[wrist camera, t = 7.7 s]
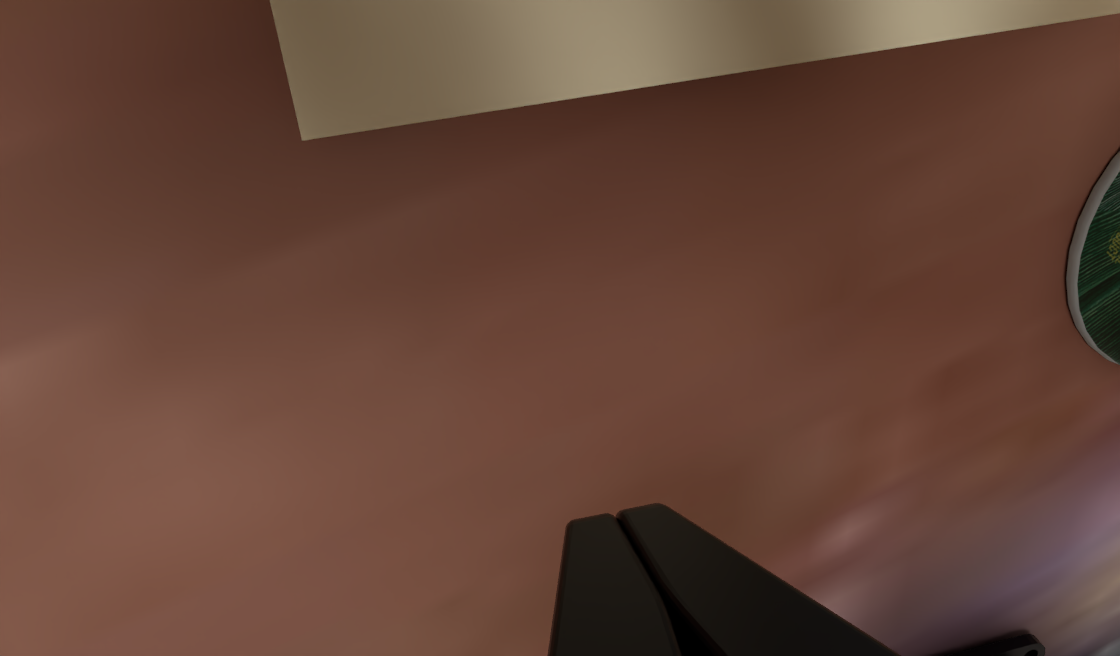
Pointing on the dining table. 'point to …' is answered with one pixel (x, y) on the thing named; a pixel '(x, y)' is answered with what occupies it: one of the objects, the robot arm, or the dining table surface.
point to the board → (587, 47)
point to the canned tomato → (1098, 266)
